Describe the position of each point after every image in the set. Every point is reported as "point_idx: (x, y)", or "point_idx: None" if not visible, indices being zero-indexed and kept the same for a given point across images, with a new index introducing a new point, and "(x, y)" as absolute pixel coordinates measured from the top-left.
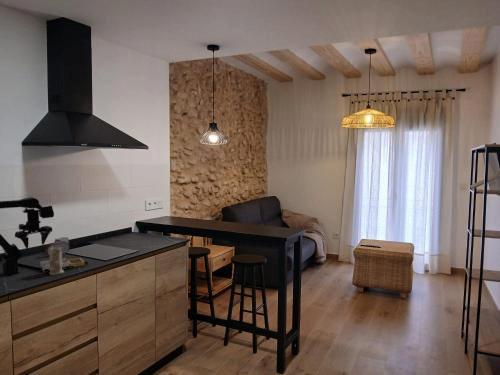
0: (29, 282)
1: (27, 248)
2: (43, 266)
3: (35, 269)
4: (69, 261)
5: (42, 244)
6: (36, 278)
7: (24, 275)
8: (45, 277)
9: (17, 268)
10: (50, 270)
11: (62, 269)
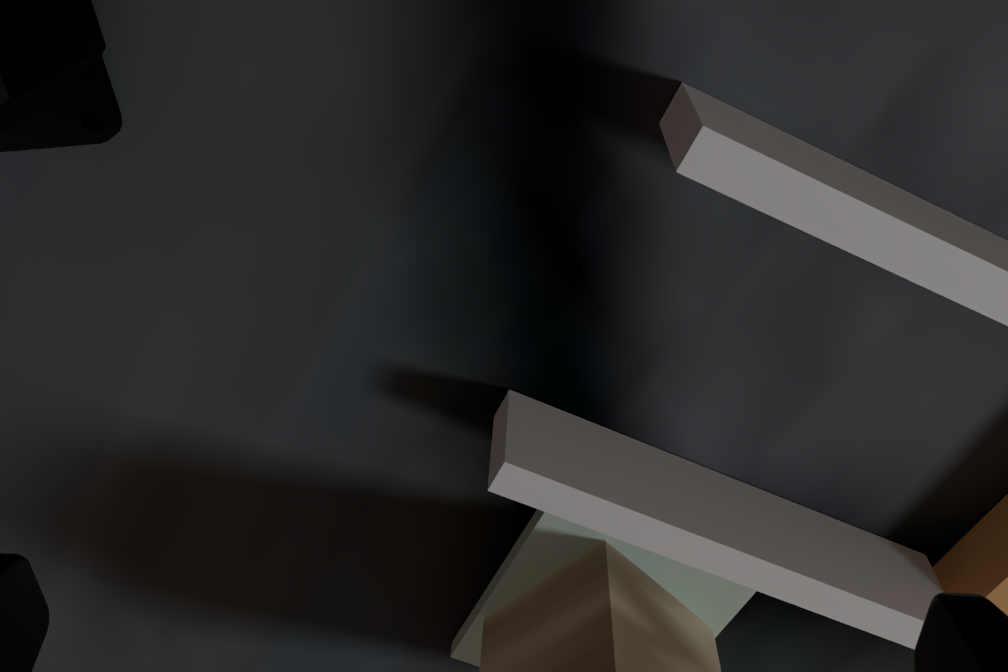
0: (91, 665)
1: (21, 632)
2: (502, 489)
3: (488, 170)
4: None
5: (929, 634)
6: (233, 611)
7: (147, 352)
8: (346, 663)
9: (42, 94)
10: (484, 658)
11: (721, 626)
